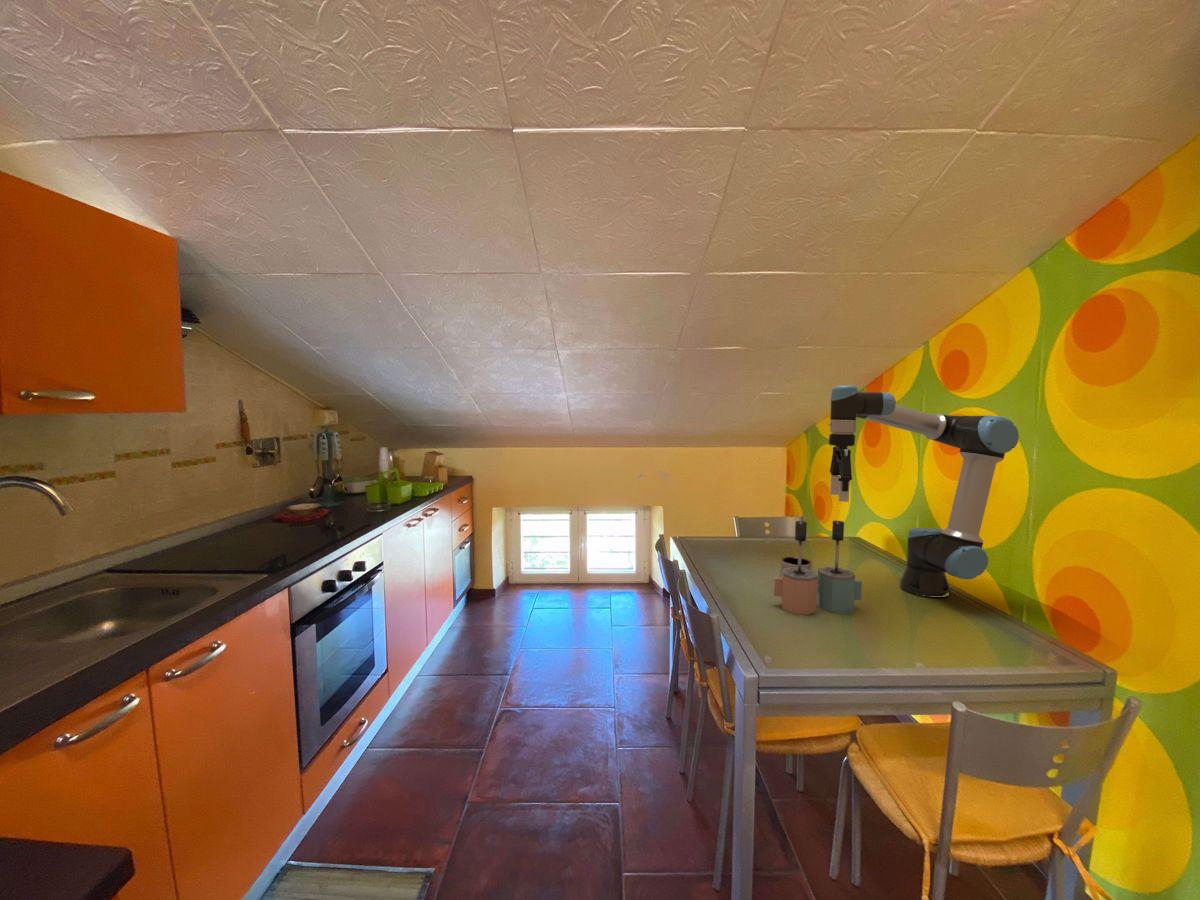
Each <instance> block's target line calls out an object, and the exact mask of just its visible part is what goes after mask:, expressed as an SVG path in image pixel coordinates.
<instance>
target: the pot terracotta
mask: <svg viewBox="0 0 1200 900" xmlns="http://www.w3.org/2000/svg"><path fill="white" fill-rule="evenodd" d="M817 585H818V573H816V572H815V571H814V570H812V571H811V570H808V569H805V568H801V575H799V574H798V568H794V567H789V568H785V569H782V578H780V577H776V576H774V583H773V596H774V597H779V598H780V605H781V609H782V610H785V611H786V612H789V613H791V614H794V615H795V614H796V615H804V616H807V615H808V616H809V615H811V614H815V613H816V612H817Z"/></svg>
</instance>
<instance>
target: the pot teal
mask: <svg viewBox="0 0 1200 900" xmlns="http://www.w3.org/2000/svg"><path fill="white" fill-rule="evenodd" d="M862 585H863V584H862V581H861V580H858V579H856V575H855V573H854V572H853V571H852V570H849V569H846V568H843V567H838V574H835V566H823V567H819V568H817V601H816V605H817V606H818V608H819V609H821V610H824V611H826V612H828V613H833V614H841V615H842V614H843V615H847V614H850V613H853V612H854V609H855V608H854V607H855V606H854V605H855V600H858V601H862Z"/></svg>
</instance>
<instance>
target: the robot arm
mask: <svg viewBox="0 0 1200 900" xmlns="http://www.w3.org/2000/svg"><path fill="white" fill-rule="evenodd" d="M830 396H831V397H830V414H829V415H830V416H829V418H830V419H829V420H830V422H829V423H827V425H828V426H829V432H830V434H829V437H828V445H830V446H833V447H832V455H831V461H830V462H831V463H830V468H829V473H830V488H829V489H830V490H829V491H830V492H829V493H830V495H832V496H833V495H836V496H838V502H842V503H844V502H846V503H849V501H850V487H851V486H850V482H851V481H852V480H853V475H852V473H853V472H852V463H851V461H852V459H851V453H852V452H851V449H848V447H854V446H856V445H855V443H856V435H855V433H856V431H857V418H859V419H863V420H867V421H869V422H873V423H877V424H882V425H884V426H885V425H886V426H890V427H893V428H897V429H900V430H905V431H908V432H913V433H916V434H919V435H923V436H925V437H926V439H928V440H930V441H935V442H938V443H942V444H944V445H946V446H950V447H954V448H956V449H959V455H960V456H961V457H962V459H963V461H962V464H961V468H960V472H959V477H958V482H957V485H956V490H955V494H954V498H953V502H952V506H951V511H950V516H949V520H948V523H947V527H946V528H945V529H943V528H932V527H931V528H929V527H914V528H913V527H912V528H910V529H909V531H908V534H907V537H906V538H907V552H906V553H907V554H906V566H905V570H904V572H903V573H902V575H901V577H900V581H899V587H901V588H902V589H901V588H900V589H901V590H902V591H904V590H905V591H904V592H906V591H908V592H907V593H909V592H911V593H910V594H912V593H914V594H913V595H915V594H918V595H917V596H919V595H925V596H943V595H945V594H946V593H948V592H949V590H950V591H951V588H950V584H949V582H948V581H949V580H948V579H947V575H946V574H948V576H949V575H950V576H951V577H954V578H955V577H956V578H958V579H960V580H961V579H962V580H972V579H975V578H977V577H978V576H981V575H982V574H983V573H984V572H985V571H986V570H987V568H988V565H989V556H988V555H987V552H986V551H985V550H984V549H983V545H984V540H983V539H982V538H981V536H980V532H981V528H982V525H983V520H984V516H985V512H986V507H987V503H988V501H989V495H990V490H991V487H992V483H993V478H994V475H995V471H996V467H997V464H998V463H1001V462H1002V461H1004V459H1005V455H1006V453H1009V452H1012V451H1013V449H1014V448H1016V446H1017V444H1018V442H1019V439H1020V438H1019V437H1020V434H1019V429H1018V428H1017V426H1016V425H1015V423H1014V421H1012V420H1010V419H1009V418H1007V417H1005V416H999V415H991V414H988V415H949V414H948V415H947V414H943V413H935V414H932V413H927V412H924V411H920V410H916V409H913V408H910V407H909V408H908V407H905V406H901V405H898V404H896V403H897V401H896V397H895V396H894V394H892V393H891V392H884V391H881V392H876V391H875V392H865V391H864V392H859V388H858V387H857V385H835V386H833V387H832V389H831V395H830Z"/></svg>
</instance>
